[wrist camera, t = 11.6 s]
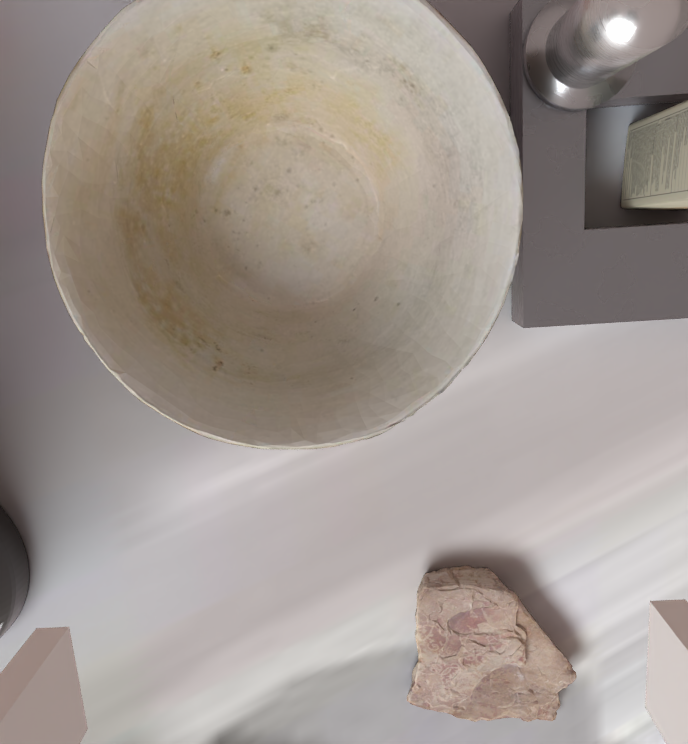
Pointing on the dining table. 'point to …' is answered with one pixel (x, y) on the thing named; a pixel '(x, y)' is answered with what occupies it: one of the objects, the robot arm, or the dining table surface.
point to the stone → (483, 651)
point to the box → (657, 161)
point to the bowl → (282, 212)
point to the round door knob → (595, 46)
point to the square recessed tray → (567, 207)
